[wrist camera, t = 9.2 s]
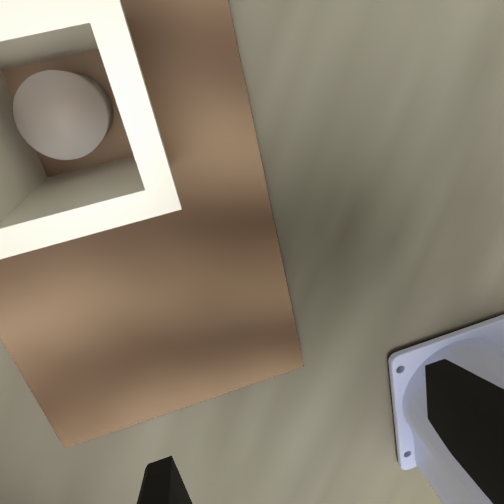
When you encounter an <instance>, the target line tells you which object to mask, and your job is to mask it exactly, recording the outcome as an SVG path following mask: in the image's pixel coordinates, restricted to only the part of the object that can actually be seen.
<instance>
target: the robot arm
mask: <svg viewBox="0 0 504 504" xmlns="http://www.w3.org/2000/svg"><path fill="white" fill-rule="evenodd" d="M388 363H389V373H390V383H391V393H392V404H393V414H394V424H395V434H396V444H397V455H398V463H399V465H400V467H401V468H402V469H403V470H408V469H411V468H414V467H416V466H417V467H418V469H419V470H420V471H421V473H422V474H423V476H424V477H425V479H426V480H427V481H428V483H429V484H430V486H431V487H432V489H433V490H434V491H435V493H436V494H437V496H438V497H439V499H440V500H441V501H442V503H443V504H504V314H503V315H501V316H498V317H495V318H492V319H489V320H486V321H483V322H480V323H478V324H475V325H472V326H469V327H466V328H463V329H460V330H458V331H455V332H452V333H449V334H446V335H443V336H440V337H437V338H435V339H432V340H429V341H426V342H423V343H420V344H417V345H414V346H412V347H409V348H406V349H403V350H400V351H397V352H395V353H393V354H392V355H391V356H390V358H389V361H388ZM399 366H400V367H399ZM398 367H399V368H398ZM137 504H192V502H191V499H190V497H189V495H188V492H187V490H186V488H185V486H184V483H183V481H182V479H181V476H180V474H179V472H178V469H177V467H176V465H175V462H174V460H173V458H172V456H170V457H167V458H164V459H161V460H158V461H155V462H153V463H150V464H148V465H147V467H146V469H145V473H144V477H143V482H142V486H141V490H140V494H139V497H138V501H137Z"/></svg>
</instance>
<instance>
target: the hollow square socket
mask: <svg viewBox="0 0 504 504" xmlns="http://www.w3.org/2000/svg"><path fill="white" fill-rule="evenodd" d="M96 49H99V52H100V55H101V58H102V61H103V64H104V67H105V70H106V73H107V76H108V79H109V82H110V85H111V88H112V91H113V94H114V97H115V100H116V103H117V106H118V109H119V112H120V115H121V118H122V121H123V124H124V127H125V130H126V133H127V136H128V139H129V142H130V145H131V148H132V151H133V154H134V155H133V156H129V157H125V158H121V159H117V160H113V161H109V162H105V163H101V164H97V165H93V166H90V167H86V168H82V169H78V170H74V171H70V172H66V173H62V174H58V175H54V176H50V177H47V175H46V173H45V170H44V168H43V166H42V163H41V161H40V159H39V156H38V154H37V152H36V150H35V149H34V148H33V147H31V146H30V145H29V144H28V143H27V142H26V141H25V139H24V138H23V137H22V135H21V134H20V132H19V130H18V128H17V126H16V123H15V120H14V116H13V102H14V98H13V96H12V93H11V91H10V89H9V86H8V84H7V82H6V79H5V77H4V75H3V72H2V70H5V69H9V68H14V67H19V66H23V65H28V64H32V63H37V62H41V61H46V60H50V59H55V58H60V57H64V56H69V55H73V54H78V53H82V52H87V51H91V50H96ZM181 209H182V208H181V205H180V201H179V197H178V194H177V190H176V186H175V183H174V179H173V175H172V172H171V168H170V164H169V161H168V158H167V154H166V151H165V147H164V144H163V141H162V137H161V134H160V131H159V127H158V124H157V121H156V117H155V114H154V110H153V107H152V104H151V100H150V97H149V94H148V90H147V87H146V83H145V80H144V77H143V73H142V70H141V67H140V63H139V60H138V57H137V53H136V50H135V46H134V43H133V40H132V36H131V33H130V30H129V26H128V23H127V19H126V16H125V13H124V10H123V7H122V4H121V1H120V0H0V259H3V258H7V257H11V256H14V255H18V254H22V253H25V252H29V251H32V250H36V249H40V248H43V247H47V246H51V245H54V244H58V243H62V242H65V241H69V240H72V239H76V238H80V237H83V236H87V235H91V234H94V233H98V232H101V231H105V230H109V229H112V228H116V227H120V226H123V225H127V224H131V223H134V222H138V221H141V220H145V219H149V218H152V217H156V216H160V215H163V214H167V213H171V212H174V211H178V210H181Z"/></svg>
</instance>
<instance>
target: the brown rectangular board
mask: <svg viewBox="0 0 504 504" xmlns="http://www.w3.org/2000/svg"><path fill="white" fill-rule="evenodd" d="M120 1H121V4H122V7H123V10H124V13H125V16H126V19H127V23H128V26H129V30H130V33H131V36H132V40H133V43H134V46H135V50H136V53H137V57H138V60H139V63H140V67H141V70H142V73H143V77H144V80H145V83H146V87H147V90H148V94H149V97H150V100H151V104H152V107H153V110H154V114H155V117H156V121H157V124H158V127H159V131H160V134H161V137H162V141H163V144H164V147H165V151H166V154H167V158H168V161H169V164H170V168H171V172H172V175H173V179H174V183H175V186H176V190H177V194H178V197H179V201H180V205H181V208H182V209H181V210H178V211H174V212H171V213H167V214H163V215H160V216H156V217H152V218H149V219H145V220H141V221H138V222H134V223H131V224H127V225H123V226H120V227H116V228H112V229H109V230H105V231H101V232H98V233H94V234H91V235H87V236H83V237H80V238H76V239H72V240H69V241H65V242H62V243H58V244H54V245H51V246H47V247H43V248H40V249H36V250H32V251H29V252H25V253H22V254H18V255H14V256H11V257H7V258H3V259H0V338H1V340H2V342H3V344H4V345H5V347H6V349H7V350H8V352H9V354H10V356H11V357H12V359H13V361H14V362H15V364H16V366H17V368H18V369H19V371H20V373H21V374H22V376H23V378H24V380H25V381H26V383H27V385H28V386H29V388H30V390H31V392H32V393H33V395H34V397H35V398H36V400H37V402H38V404H39V405H40V407H41V409H42V410H43V412H44V414H45V416H46V417H47V419H48V421H49V422H50V424H51V426H52V428H53V429H54V431H55V433H56V434H57V436H58V438H59V440H60V441H61V443H62V445H63V446H64V448H68V447H71V446H73V445H76V444H79V443H82V442H85V441H88V440H91V439H94V438H97V437H100V436H103V435H106V434H108V433H111V432H114V431H117V430H120V429H123V428H126V427H129V426H132V425H135V424H138V423H141V422H143V421H146V420H149V419H152V418H155V417H158V416H161V415H164V414H167V413H170V412H173V411H176V410H178V409H181V408H184V407H187V406H190V405H193V404H196V403H199V402H202V401H205V400H208V399H211V398H214V397H216V396H219V395H222V394H225V393H228V392H231V391H234V390H237V389H240V388H243V387H246V386H249V385H251V384H254V383H257V382H260V381H263V380H266V379H269V378H272V377H275V376H278V375H281V374H284V373H286V372H289V371H292V370H295V369H298V368H301V367H304V363H303V358H302V353H301V348H300V343H299V339H298V334H297V329H296V324H295V319H294V315H293V310H292V305H291V300H290V295H289V291H288V286H287V281H286V276H285V271H284V267H283V262H282V257H281V252H280V247H279V243H278V238H277V233H276V228H275V223H274V219H273V214H272V209H271V204H270V199H269V195H268V190H267V185H266V180H265V175H264V170H263V166H262V161H261V156H260V151H259V146H258V142H257V137H256V132H255V127H254V122H253V118H252V113H251V108H250V103H249V98H248V94H247V89H246V84H245V79H244V74H243V70H242V65H241V60H240V55H239V50H238V46H237V41H236V36H235V31H234V26H233V22H232V17H231V12H230V7H229V2H228V0H120ZM2 72H3V75H4V77H5V79H6V82H7V84H8V86H9V89H10V91H11V93H12V96H13V98H14V102H13V116H14V120H15V123H16V126H17V128H18V130H19V132H20V134H21V135H22V137H23V138H24V139H25V141H26V142H27V143H28V144H29V145H30V146H31V147H33V148H34V149H35V150H36V152H37V154H38V156H39V159H40V161H41V163H42V166H43V168H44V170H45V173H46V175H47V177H50V176H54V175H58V174H62V173H66V172H70V171H74V170H78V169H82V168H86V167H90V166H93V165H97V164H101V163H105V162H109V161H113V160H117V159H121V158H125V157H129V156H133V155H134V154H133V151H132V148H131V145H130V142H129V139H128V136H127V133H126V130H125V127H124V124H123V121H122V118H121V115H120V112H119V109H118V106H117V103H116V100H115V97H114V94H113V91H112V88H111V85H110V82H109V79H108V76H107V73H106V70H105V67H104V64H103V61H102V58H101V55H100V52H99V49H96V50H91V51H87V52H82V53H78V54H73V55H69V56H64V57H60V58H55V59H50V60H46V61H41V62H37V63H32V64H28V65H23V66H19V67H14V68H9V69H5V70H2Z"/></svg>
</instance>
